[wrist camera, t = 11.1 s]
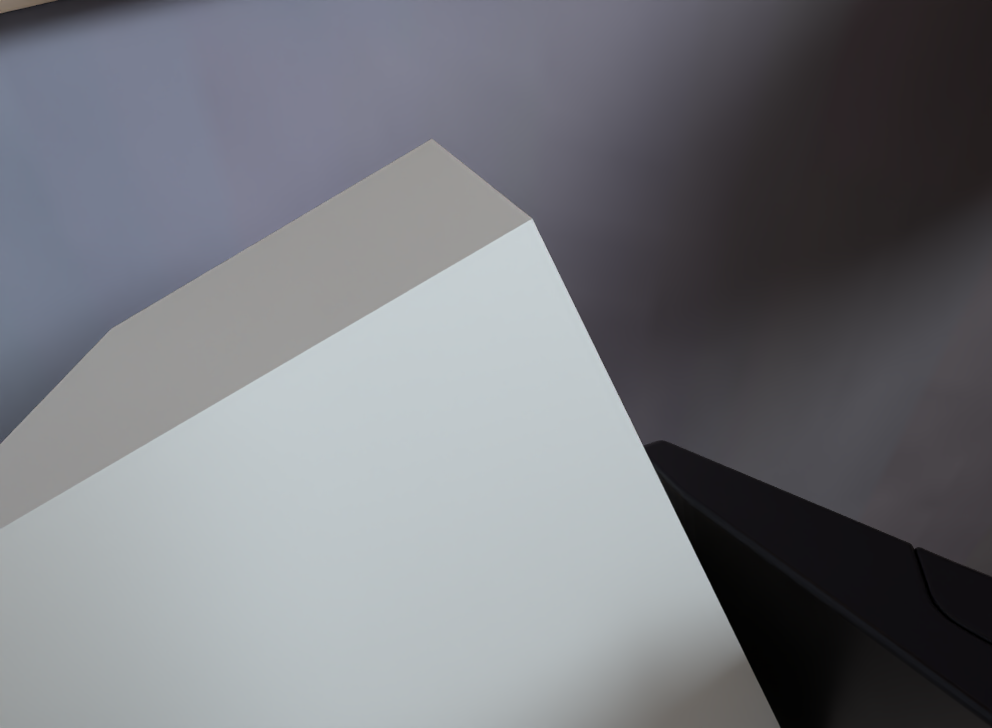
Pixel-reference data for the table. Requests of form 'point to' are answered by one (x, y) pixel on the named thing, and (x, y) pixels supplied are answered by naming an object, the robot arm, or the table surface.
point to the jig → (19, 4)
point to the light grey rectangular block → (356, 499)
